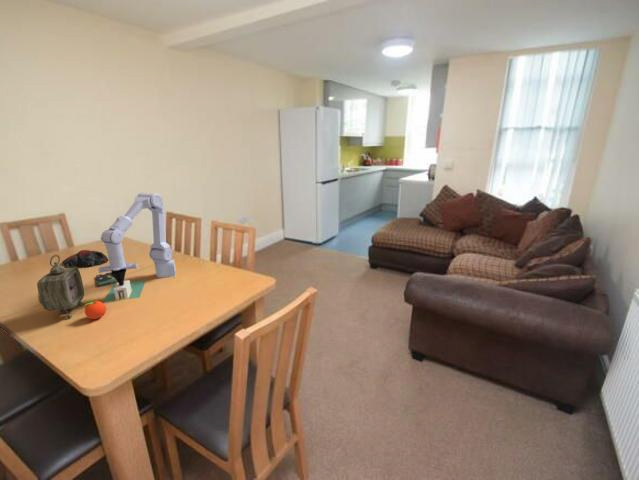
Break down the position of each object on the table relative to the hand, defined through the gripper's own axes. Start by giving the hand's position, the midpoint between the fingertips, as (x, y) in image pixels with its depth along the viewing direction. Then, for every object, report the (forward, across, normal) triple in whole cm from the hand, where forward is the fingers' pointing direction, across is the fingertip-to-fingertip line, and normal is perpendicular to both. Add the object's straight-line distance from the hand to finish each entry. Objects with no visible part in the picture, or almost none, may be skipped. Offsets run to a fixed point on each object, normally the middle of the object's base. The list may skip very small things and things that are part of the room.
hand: (121, 284), depth 140 cm
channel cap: (+5, 0, 0) cm, 5 cm away
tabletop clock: (+6, -19, -8) cm, 21 cm away
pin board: (+6, 0, +4) cm, 7 cm away
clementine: (+6, -7, -16) cm, 19 cm away
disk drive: (+7, -10, +22) cm, 25 cm away
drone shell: (+6, -30, +56) cm, 64 cm away
